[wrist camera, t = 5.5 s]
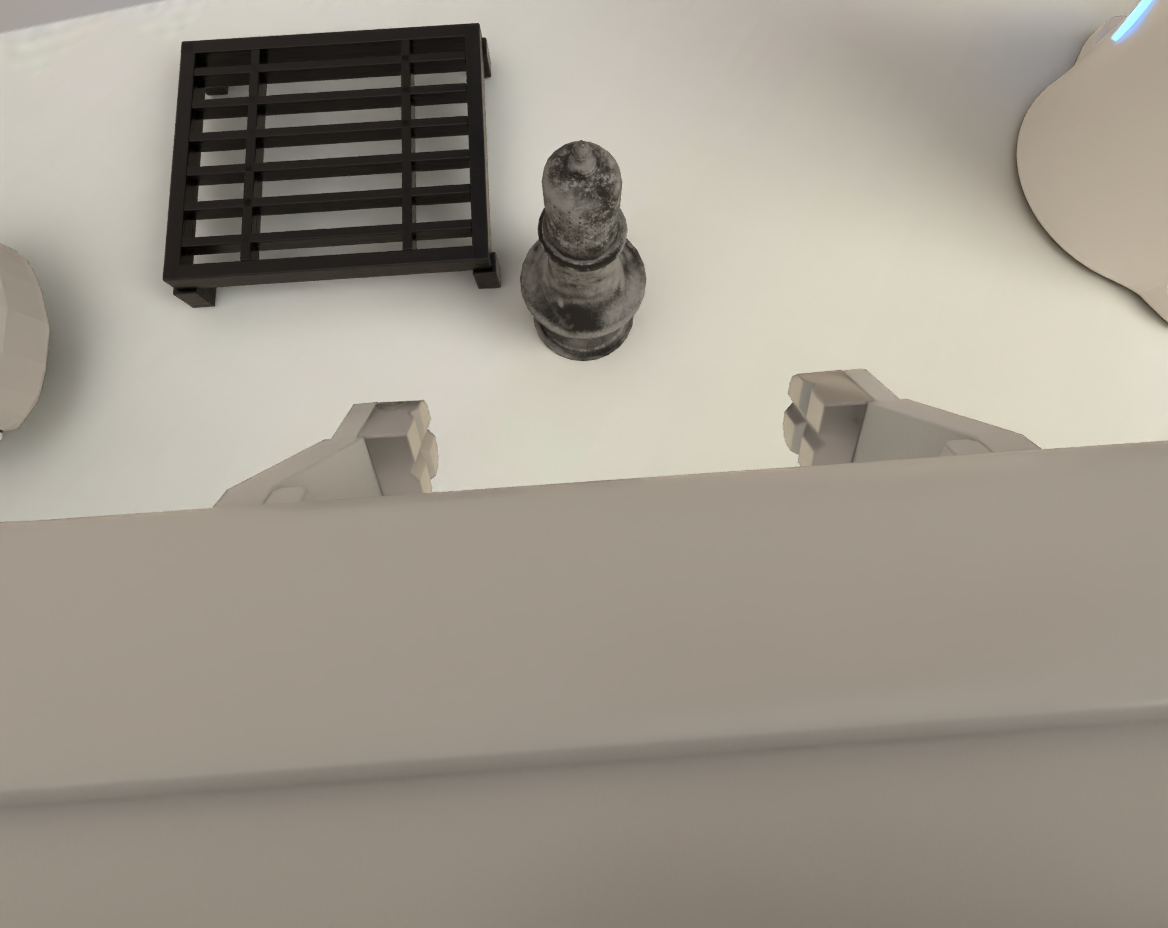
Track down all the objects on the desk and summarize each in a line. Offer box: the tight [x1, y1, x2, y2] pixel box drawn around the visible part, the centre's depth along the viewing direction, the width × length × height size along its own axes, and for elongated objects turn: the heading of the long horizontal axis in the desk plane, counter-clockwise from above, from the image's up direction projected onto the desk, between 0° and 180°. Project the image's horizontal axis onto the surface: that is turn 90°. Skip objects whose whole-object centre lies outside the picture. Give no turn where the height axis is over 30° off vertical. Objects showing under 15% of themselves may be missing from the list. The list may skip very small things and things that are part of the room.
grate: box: [163, 23, 501, 308], centre depth 30 cm, size 16×14×2 cm
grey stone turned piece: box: [520, 140, 646, 361], centre depth 24 cm, size 6×6×12 cm
